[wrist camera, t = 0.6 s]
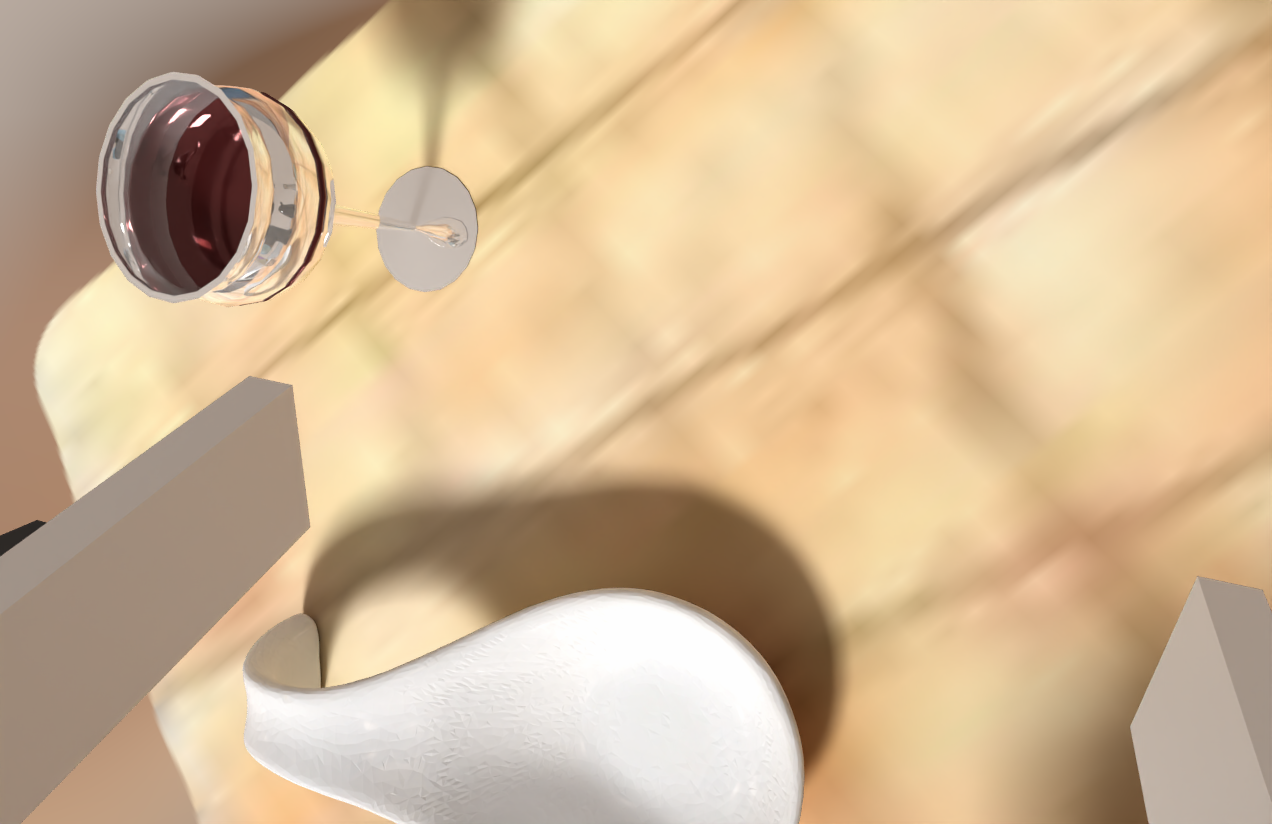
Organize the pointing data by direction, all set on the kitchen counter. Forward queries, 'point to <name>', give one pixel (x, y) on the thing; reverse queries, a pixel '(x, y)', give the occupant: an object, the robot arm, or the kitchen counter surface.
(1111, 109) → the kitchen counter surface
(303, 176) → the wineglass
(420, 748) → the spoon rest
